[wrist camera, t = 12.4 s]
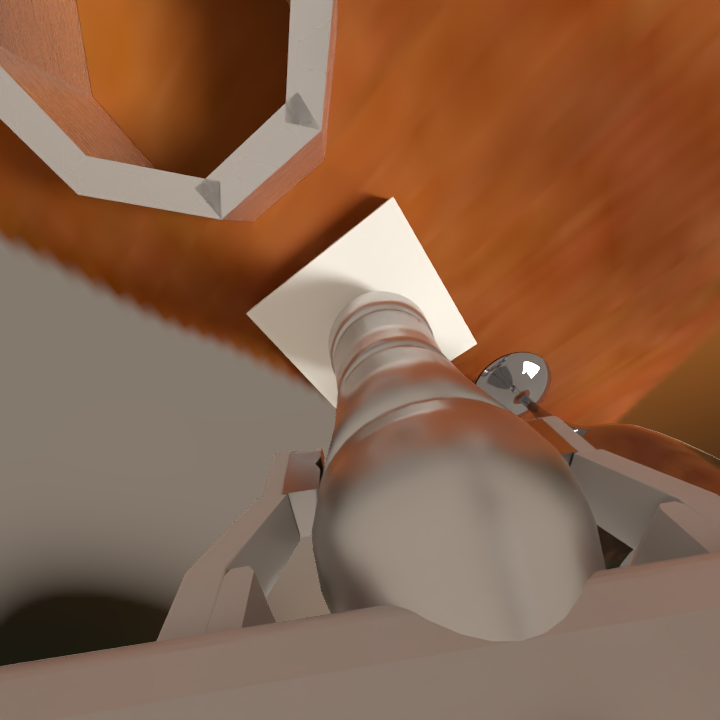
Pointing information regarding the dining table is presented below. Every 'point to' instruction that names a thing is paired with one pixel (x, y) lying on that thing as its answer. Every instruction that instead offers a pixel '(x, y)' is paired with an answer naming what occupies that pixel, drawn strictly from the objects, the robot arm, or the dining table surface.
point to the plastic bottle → (441, 490)
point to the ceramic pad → (357, 294)
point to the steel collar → (118, 153)
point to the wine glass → (599, 436)
